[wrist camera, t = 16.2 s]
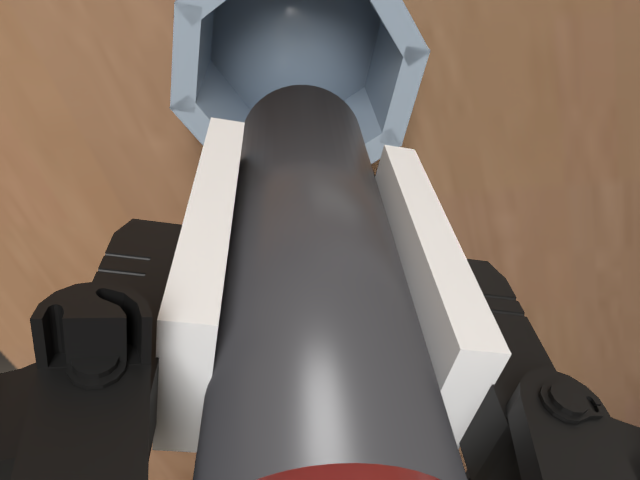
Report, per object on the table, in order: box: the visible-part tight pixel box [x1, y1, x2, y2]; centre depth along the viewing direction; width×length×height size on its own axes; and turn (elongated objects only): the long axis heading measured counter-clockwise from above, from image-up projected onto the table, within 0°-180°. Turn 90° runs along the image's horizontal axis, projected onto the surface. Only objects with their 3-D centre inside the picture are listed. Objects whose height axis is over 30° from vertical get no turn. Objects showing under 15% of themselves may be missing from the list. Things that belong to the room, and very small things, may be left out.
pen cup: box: [170, 0, 430, 164], centre depth 22 cm, size 9×9×6 cm
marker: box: [193, 85, 467, 480], centre depth 10 cm, size 3×3×14 cm
